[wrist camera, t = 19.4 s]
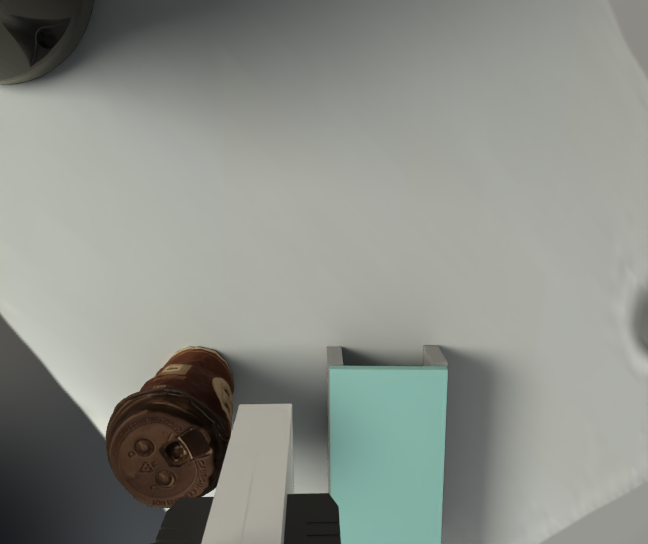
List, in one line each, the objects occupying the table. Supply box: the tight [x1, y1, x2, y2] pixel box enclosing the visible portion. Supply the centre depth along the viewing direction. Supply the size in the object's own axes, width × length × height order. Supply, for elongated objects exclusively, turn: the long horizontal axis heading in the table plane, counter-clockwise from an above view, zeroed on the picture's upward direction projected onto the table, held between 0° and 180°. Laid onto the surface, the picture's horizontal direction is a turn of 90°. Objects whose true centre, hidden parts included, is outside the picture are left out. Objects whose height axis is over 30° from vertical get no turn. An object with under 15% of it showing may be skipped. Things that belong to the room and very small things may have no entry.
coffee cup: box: [106, 347, 234, 508], centre depth 45 cm, size 9×8×13 cm
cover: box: [330, 366, 448, 544], centre depth 48 cm, size 18×9×1 cm, turn 1°
